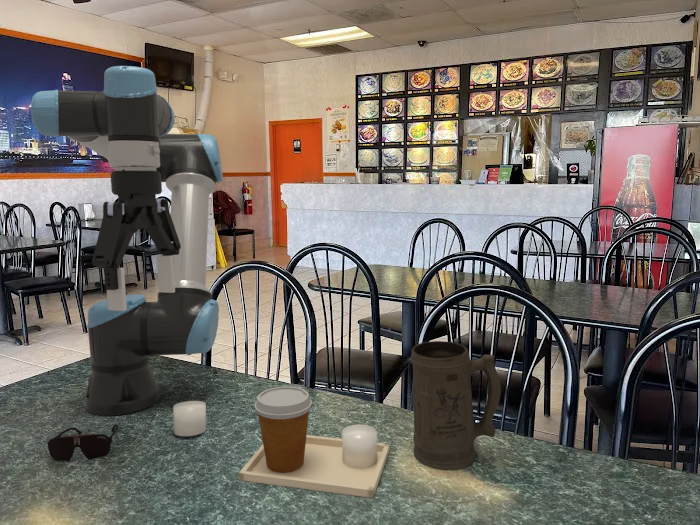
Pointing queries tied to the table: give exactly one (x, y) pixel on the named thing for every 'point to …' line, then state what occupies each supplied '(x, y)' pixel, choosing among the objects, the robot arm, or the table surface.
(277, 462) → the disposable coffee cup
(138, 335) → the robot arm
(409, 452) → the table surface
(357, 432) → the white rounded cylinder
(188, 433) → the rounded white cap
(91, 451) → the sunglasses
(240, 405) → the table surface
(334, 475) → the serving tray
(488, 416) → the beer stein
